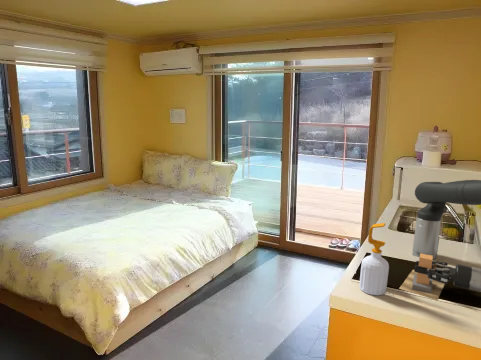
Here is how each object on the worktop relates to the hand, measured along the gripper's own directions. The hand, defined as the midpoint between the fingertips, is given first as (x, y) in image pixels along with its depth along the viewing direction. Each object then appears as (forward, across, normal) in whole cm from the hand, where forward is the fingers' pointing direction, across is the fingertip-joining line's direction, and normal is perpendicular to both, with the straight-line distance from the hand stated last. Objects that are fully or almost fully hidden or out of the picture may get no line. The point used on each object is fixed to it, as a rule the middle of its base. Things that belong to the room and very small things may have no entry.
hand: (415, 266), depth 131 cm
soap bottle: (+12, +9, +9) cm, 18 cm away
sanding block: (-3, 0, +7) cm, 7 cm away
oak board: (-4, -2, +8) cm, 9 cm away
